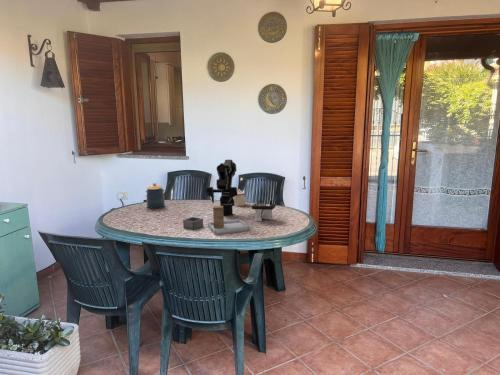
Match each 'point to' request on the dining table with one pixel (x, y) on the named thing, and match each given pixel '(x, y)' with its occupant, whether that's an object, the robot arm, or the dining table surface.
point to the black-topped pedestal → (263, 210)
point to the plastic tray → (229, 227)
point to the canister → (155, 196)
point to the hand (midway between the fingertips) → (220, 203)
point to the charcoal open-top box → (193, 223)
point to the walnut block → (218, 216)
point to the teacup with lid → (239, 198)
